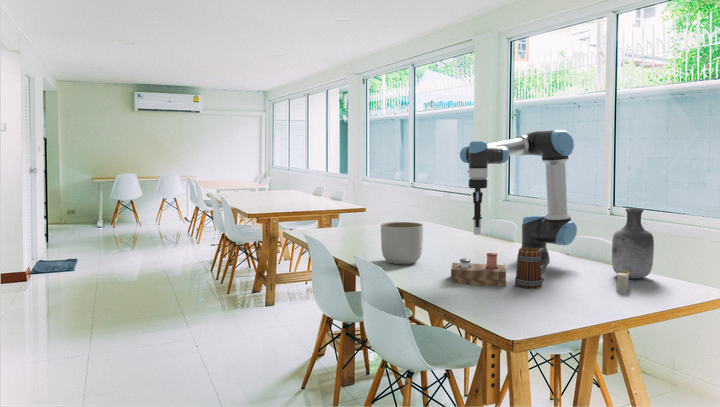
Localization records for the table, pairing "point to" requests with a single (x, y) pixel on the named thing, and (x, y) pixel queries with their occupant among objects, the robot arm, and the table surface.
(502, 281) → the socket block
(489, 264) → the plug red
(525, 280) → the mug
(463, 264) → the plug grey
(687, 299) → the table surface
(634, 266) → the vase
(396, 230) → the planter
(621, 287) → the model
